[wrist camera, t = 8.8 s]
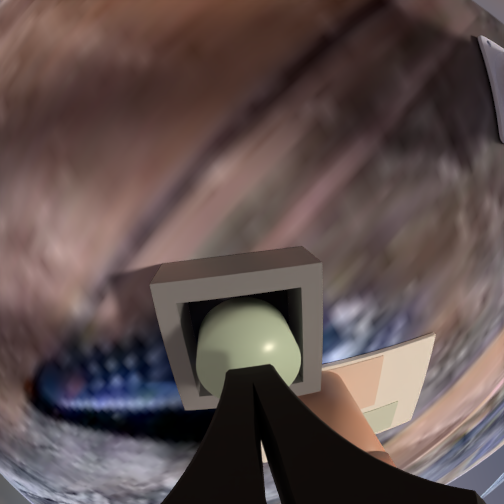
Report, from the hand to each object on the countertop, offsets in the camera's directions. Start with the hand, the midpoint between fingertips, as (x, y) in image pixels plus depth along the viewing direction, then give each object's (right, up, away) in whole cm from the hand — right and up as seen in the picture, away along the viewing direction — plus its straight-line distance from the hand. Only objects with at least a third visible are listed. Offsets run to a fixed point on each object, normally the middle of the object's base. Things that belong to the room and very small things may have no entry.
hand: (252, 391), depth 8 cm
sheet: (+6, -5, +7) cm, 11 cm away
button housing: (-1, +1, +5) cm, 5 cm away
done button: (0, +1, +3) cm, 3 cm away
